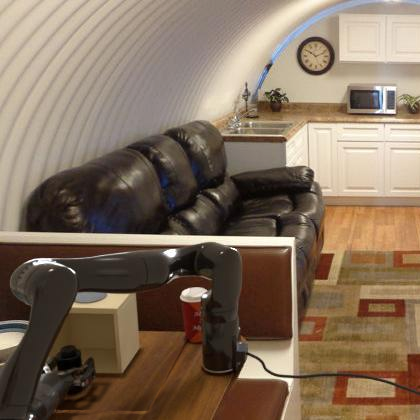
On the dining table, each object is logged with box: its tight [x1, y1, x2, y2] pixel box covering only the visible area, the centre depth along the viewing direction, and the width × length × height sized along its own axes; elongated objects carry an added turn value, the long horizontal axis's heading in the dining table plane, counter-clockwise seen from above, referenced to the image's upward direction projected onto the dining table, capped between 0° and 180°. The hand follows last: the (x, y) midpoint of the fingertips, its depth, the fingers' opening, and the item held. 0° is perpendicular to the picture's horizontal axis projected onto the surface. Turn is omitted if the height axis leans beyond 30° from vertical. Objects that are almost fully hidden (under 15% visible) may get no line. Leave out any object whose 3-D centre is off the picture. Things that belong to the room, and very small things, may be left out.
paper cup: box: [179, 286, 208, 344], centre depth 177 cm, size 8×8×14 cm
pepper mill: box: [56, 345, 84, 396], centre depth 148 cm, size 5×5×11 cm
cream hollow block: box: [46, 292, 141, 374], centre depth 161 cm, size 18×13×19 cm
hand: (73, 360), depth 150 cm, fingers open, 7 cm apart
